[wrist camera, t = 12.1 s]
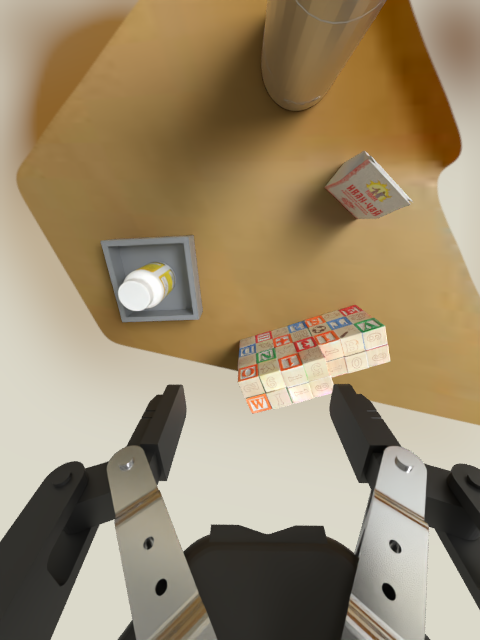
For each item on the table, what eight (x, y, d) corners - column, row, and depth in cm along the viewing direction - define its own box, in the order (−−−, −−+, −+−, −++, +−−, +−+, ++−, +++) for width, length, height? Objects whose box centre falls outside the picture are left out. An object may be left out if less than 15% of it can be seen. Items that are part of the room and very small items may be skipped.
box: (113, 239, 36) (100, 240, 33) (193, 235, 35) (188, 236, 32) (132, 314, 41) (122, 322, 38) (202, 311, 40) (199, 319, 37)
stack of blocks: (355, 302, 39) (400, 335, 28) (361, 333, 42) (404, 375, 30) (238, 340, 43) (236, 383, 31) (249, 366, 45) (251, 415, 34)
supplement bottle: (136, 277, 38) (103, 295, 29) (156, 253, 36) (128, 264, 27) (162, 300, 39) (138, 324, 30) (183, 278, 38) (164, 296, 29)
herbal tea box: (343, 162, 32) (385, 138, 22) (376, 196, 33) (427, 187, 24) (324, 187, 33) (355, 173, 24) (356, 218, 34) (398, 218, 25)
